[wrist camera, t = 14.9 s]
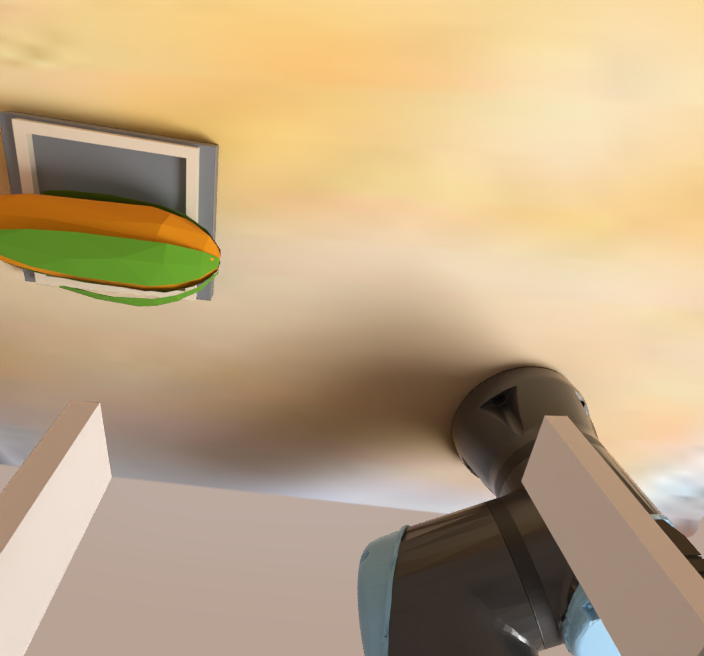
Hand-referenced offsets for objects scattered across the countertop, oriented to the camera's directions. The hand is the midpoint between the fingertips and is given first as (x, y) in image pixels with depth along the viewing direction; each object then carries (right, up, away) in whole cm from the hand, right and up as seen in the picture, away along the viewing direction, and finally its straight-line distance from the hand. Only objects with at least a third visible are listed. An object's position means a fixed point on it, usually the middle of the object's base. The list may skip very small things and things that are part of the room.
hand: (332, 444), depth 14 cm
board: (-18, +13, +24) cm, 33 cm away
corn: (-20, +11, +23) cm, 32 cm away
